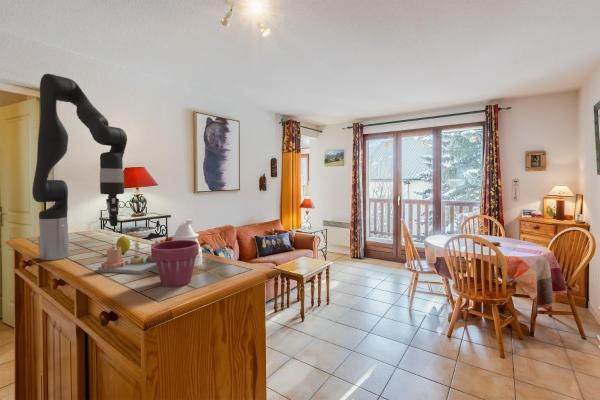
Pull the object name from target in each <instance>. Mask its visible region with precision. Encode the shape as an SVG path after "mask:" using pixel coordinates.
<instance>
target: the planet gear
mask: <svg viewBox="0 0 600 400" xmlns="http://www.w3.org/2000/svg"><path fill="white" fill-rule="evenodd" d="M111 248H112V247H108V248H107V249H106V260H104V261H103V262H101V263H100V267H101V268H104V269H108V268H109V269H111V268H114V269H115V268H119V267H124V266H126V264H128V261H127V260H124V259H125V258H123V253H122V250H121V247H116V248H117V249H115V250H111Z"/></svg>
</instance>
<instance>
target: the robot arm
mask: <svg viewBox="0 0 600 400" xmlns="http://www.w3.org/2000/svg"><path fill="white" fill-rule="evenodd" d="M57 101H59V102H63V103H70V104H72V105H73V106H75V107H76V116H77V118H78V119H79V121H80V122H81V123H82V124H83V125H84V126H85V127H86V128H87V129H88V131H89V132H90V134H91V137H92V139H93V140H94V141H95V143H98V144H99V145H102V146H110V149H109V151H106V152H102V153H101V154H100V155H99V192H100V194H101V195H107V198H106V199H105V202H106V208H107V209H106V210H107V213H108V220H109V224H110V227H117V226H118V225H119V224H118V216H119V210H120V208H119V207H120V206H119V205H120V199H119V198H118V195H124V194H125V178H124V177H125V176H124V175H125V174H124V166H123V164H124V163H123V162H124V161H123V157H124V154H125V150H126V147H127V144H128V143H127V142H128V136H127V133H126V131H125V130H124V129H123V128H120V127H116V126H111V125H109V124H110V123H109V120H108V119H107V117H105V116H104V115H103V114H102V113H101V111H99V110H98V109H97V108H96V107H95V106H94V105H93V103H91V101H90V100H89V99H88V97H87V96H86V94H85V93H84V91H83V90H82V88H81V86H79V84H78V83H77V82H76V81H75V80H73V79H70V78H68V77H64V76H60V75H56V74H53V73H52V74H51V73H44V74H43V75H42V76H41V79H40V83H39V105H40V106H39V109H40V113H39V115H40V116H39V128H38V133H37V134H38V135H37V136H38V137H37V151H36V154H37V155H36V165H35V171H34V177H33V183H32V188H31V189H32V191H31V192H32V198H33V199H34V201H35V202H37V203H53V202H54V204H53V205H52V206H50V207H48V208H46V209H44V210H41V211H39V212H38V220H39V221H38V222H39V236H38V257H39V259H40V260H42V261H55V260H57V261H58V260H62V259H66V258H69V257H70V251H69V250H70V248H69V247H70V246H69V226H68V211H69V209H68V208H69V207H68V206H69V205H68V203H69V202H68V201H69V200H68V198H69V189H68V184H67V182H66V181H64V180H62V179H49V175H50V173H51V171H52V170H53V168H54V167H55V166H56V165H57V164H58V163H60V161H61V160H62V159H63V158H64V157H65V155H66V153H67V152H68V145H69V144H68V143H69V133H68V132H67V130H66V128H65V126H64V124H63V123H62V121H61V119H60V117H59V115H58V112H57V111H58V110H57Z"/></svg>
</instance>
